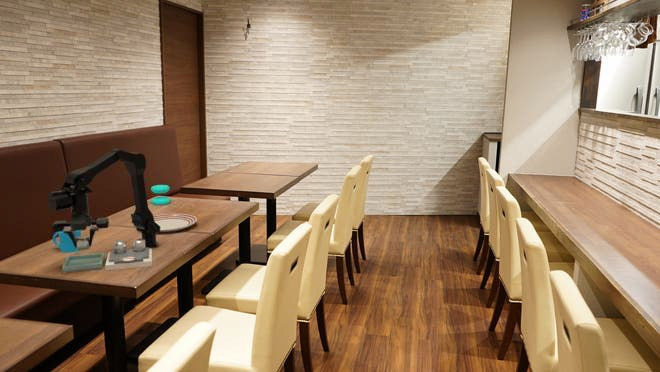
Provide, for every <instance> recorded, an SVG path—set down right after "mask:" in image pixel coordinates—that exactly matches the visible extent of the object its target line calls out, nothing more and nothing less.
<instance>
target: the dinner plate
mask: <svg viewBox="0 0 660 372" xmlns="http://www.w3.org/2000/svg"><path fill="white" fill-rule="evenodd" d="M153 217H154V220H155V223H157V224H158V225H159V226H160V227H161V228H160V232H159V233H170V232H176V231H181V230H182V231H183V230H184V229H186V228H188V227H191V226H192V225H194V224H196V223H197V220H198V219H197V217H196V216H194V215H192V214H187V213H164V214H163V213H162V214H156V215H153Z"/></svg>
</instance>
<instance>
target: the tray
mask: <svg viewBox="0 0 660 372" xmlns="http://www.w3.org/2000/svg"><path fill="white" fill-rule="evenodd" d="M65 258H66V259H65V260H64V263H63V264H62V266H61V267H62V269H61V270H62V273H70V272H71V273H72V272H83V271H95V270H103V267H104V261H105V258H106V257H105V252H101V253H89V254H88V253H87V254H77V255H76V254H75V255H67V256H66V257H65Z"/></svg>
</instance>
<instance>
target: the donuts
mask: <svg viewBox="0 0 660 372" xmlns="http://www.w3.org/2000/svg"><path fill="white" fill-rule="evenodd" d="M150 191H151V192H153V194H165V193H168V192H169V191H170V186H169V185H167V184H166V185H165V184H157V185H153V186H151V188H150ZM151 203H152V205H155V206H163V205H168V204H170V203H171V199H170V197H169V196H160V195H159V196H156V197H153V198H152V200H151Z"/></svg>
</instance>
